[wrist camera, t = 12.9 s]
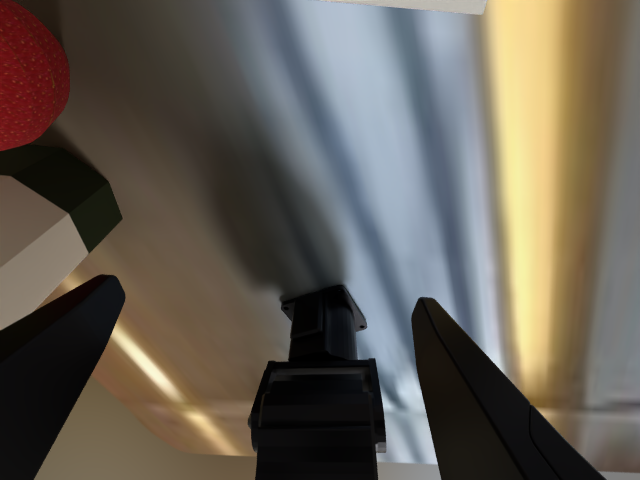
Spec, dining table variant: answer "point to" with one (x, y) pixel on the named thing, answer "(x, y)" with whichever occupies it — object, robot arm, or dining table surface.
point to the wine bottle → (46, 223)
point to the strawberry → (29, 76)
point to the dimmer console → (426, 5)
